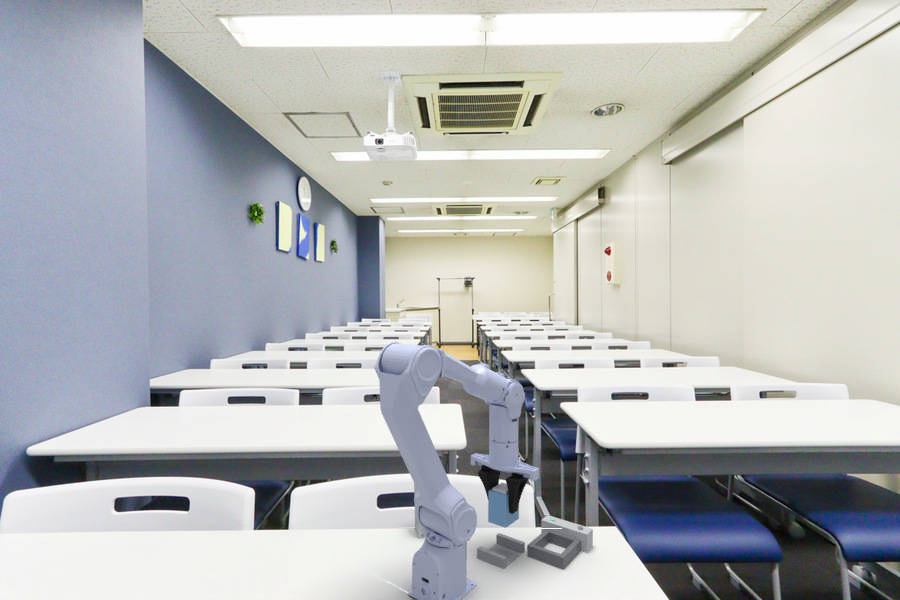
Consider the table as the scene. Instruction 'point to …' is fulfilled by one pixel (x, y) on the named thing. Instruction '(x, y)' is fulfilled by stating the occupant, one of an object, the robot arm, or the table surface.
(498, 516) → the plug
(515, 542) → the grey u-shaped bracket
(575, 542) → the port
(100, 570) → the table surface
